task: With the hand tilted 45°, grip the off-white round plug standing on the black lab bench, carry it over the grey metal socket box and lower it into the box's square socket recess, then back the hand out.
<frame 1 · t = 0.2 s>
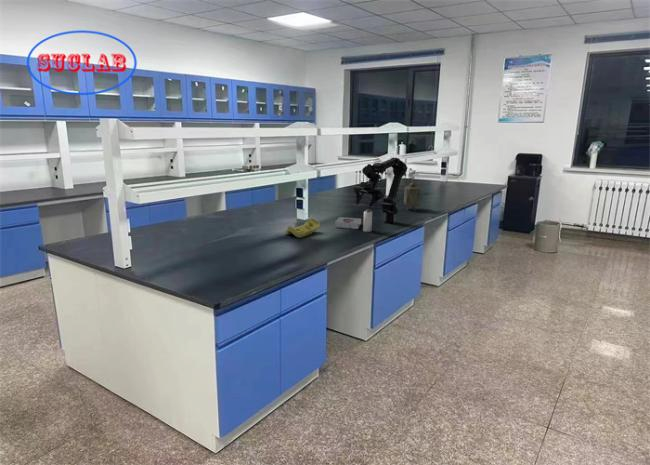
hand: (363, 205, 251), 15 cm above the worktop, tool tilted 35°, fingers open, 9 cm apart
socket box: (348, 225, 265), on the worktop
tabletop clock: (410, 210, 319), on the worktop
plastic component: (304, 234, 244), on the worktop
plug: (367, 230, 253), on the worktop
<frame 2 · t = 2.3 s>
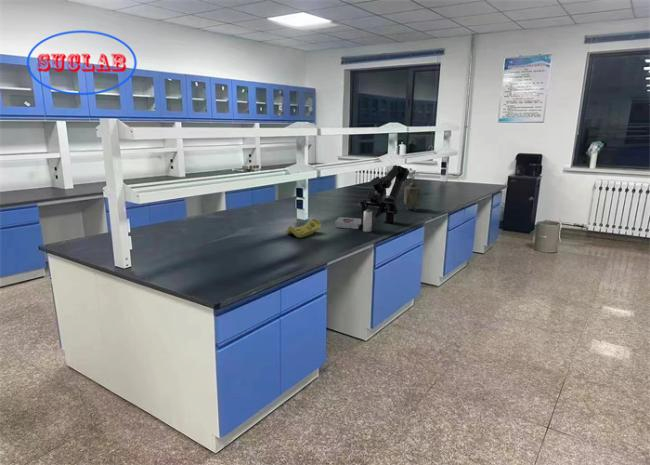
hand: (368, 216, 252), 9 cm above the worktop, tool tilted 45°, fingers open, 9 cm apart
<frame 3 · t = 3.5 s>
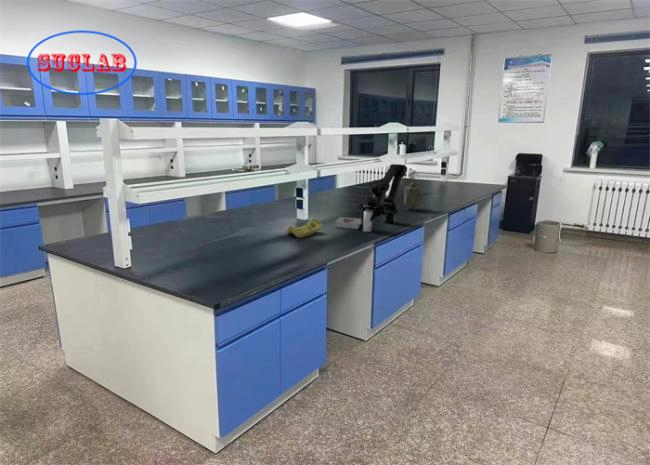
hand: (366, 220, 251), 7 cm above the worktop, tool tilted 45°, fingers closed on plug, 5 cm apart
plug: (367, 230, 253), on the worktop, touching gripper
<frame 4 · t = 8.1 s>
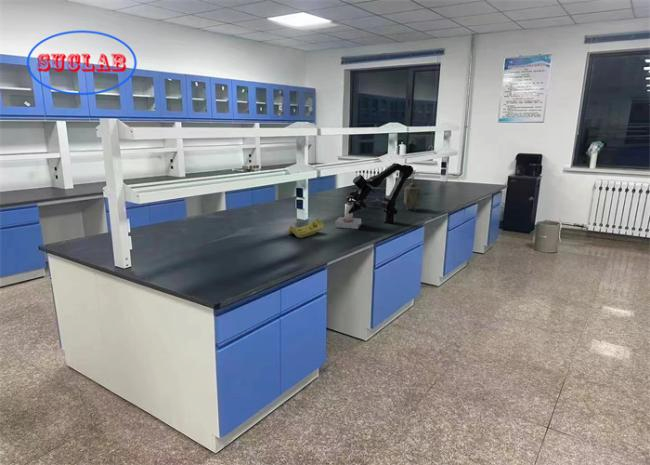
hand: (346, 212, 262), 8 cm above the worktop, tool tilted 45°, fingers closed on plug, 5 cm apart
plug: (348, 222, 264), point 2 cm above the worktop, touching gripper
when the fingers open (8 cm above the worktop, at t = 8.3 s): plug stays where it is, resting on socket box.
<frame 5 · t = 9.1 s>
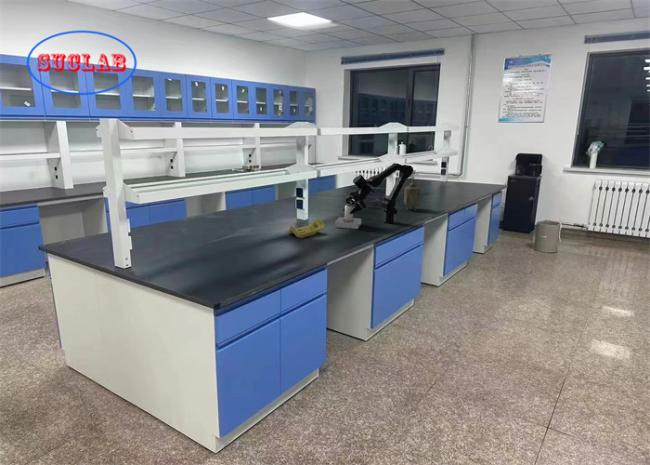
hand: (346, 212, 262), 9 cm above the worktop, tool tilted 45°, fingers open, 9 cm apart
plug: (348, 224, 264), point 1 cm above the worktop, touching socket box
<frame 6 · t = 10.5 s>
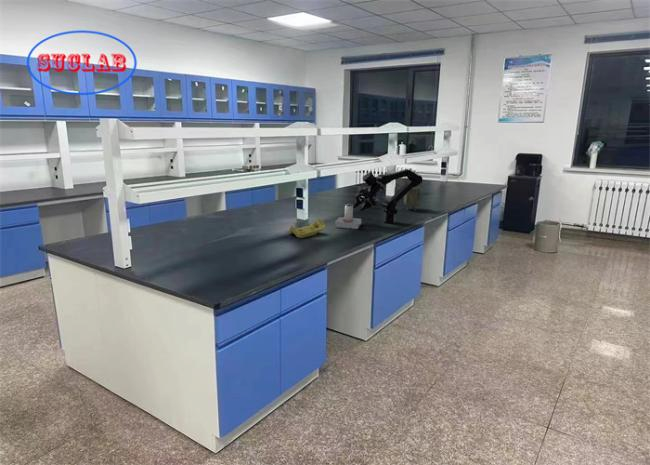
hand: (356, 209, 264), 10 cm above the worktop, tool tilted 45°, fingers open, 9 cm apart
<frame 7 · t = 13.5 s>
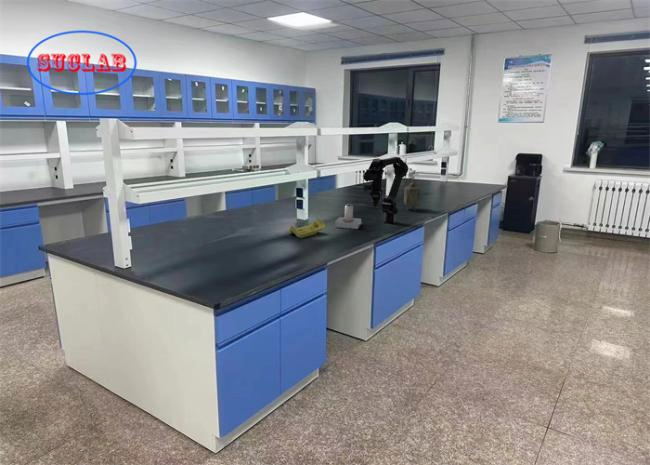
hand: (375, 205, 263), 13 cm above the worktop, tool pointing down, fingers open, 9 cm apart
at the end: plug 0.0 cm off-centre on the socket box, point 1.0 cm above the socket box's base; plug tilted 0°; the gripper is holding nothing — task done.
